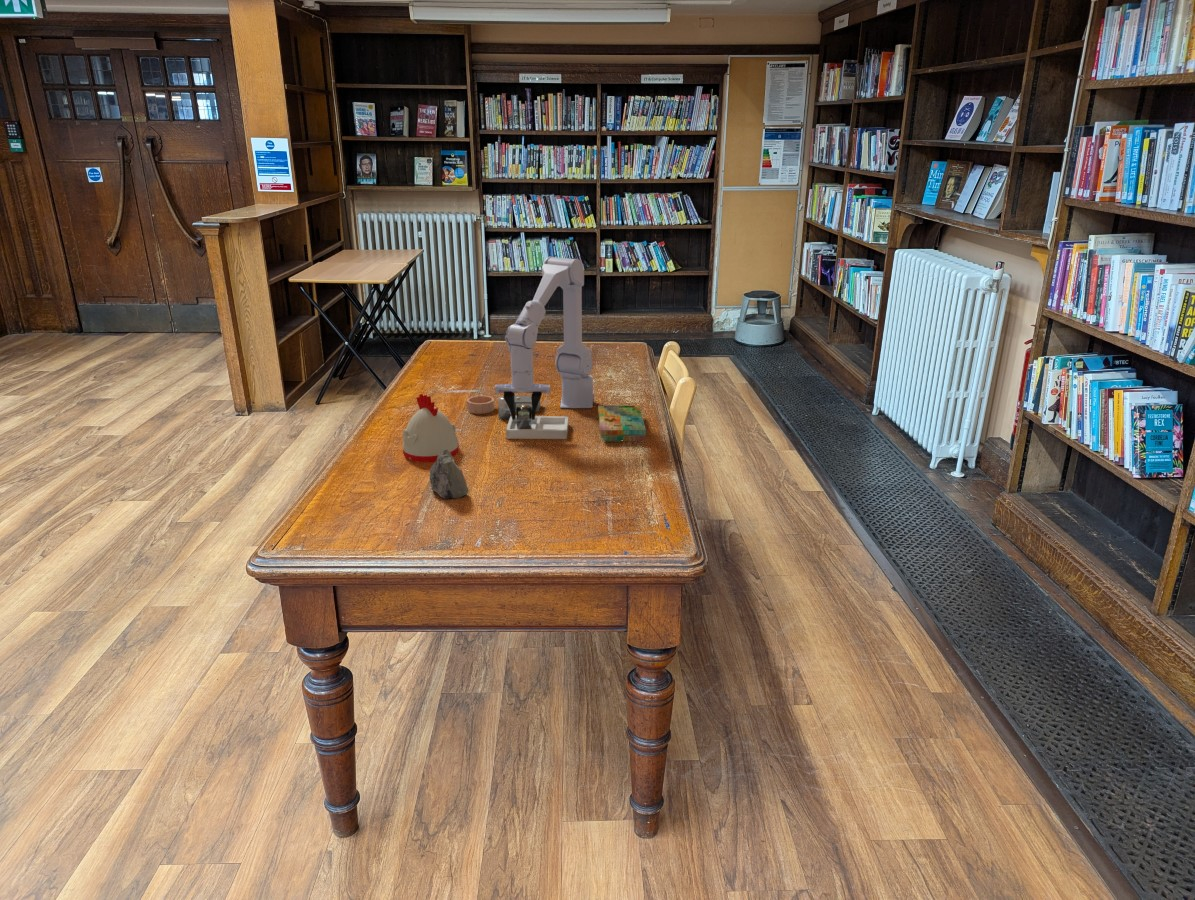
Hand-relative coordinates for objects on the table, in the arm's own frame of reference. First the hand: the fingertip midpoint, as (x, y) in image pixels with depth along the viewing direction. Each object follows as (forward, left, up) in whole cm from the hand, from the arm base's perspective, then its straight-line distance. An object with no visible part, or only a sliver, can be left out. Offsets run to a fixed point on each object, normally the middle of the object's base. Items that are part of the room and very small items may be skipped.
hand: (523, 418), depth 219 cm
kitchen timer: (+22, +15, -4) cm, 27 cm away
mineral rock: (+14, +37, -4) cm, 40 cm away
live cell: (0, 0, -3) cm, 3 cm away
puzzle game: (-26, -2, -4) cm, 27 cm away
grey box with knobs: (+1, -19, -4) cm, 19 cm away
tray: (-4, 0, -4) cm, 5 cm away
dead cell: (+6, -11, -4) cm, 13 cm away
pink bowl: (+14, -18, -4) cm, 23 cm away
